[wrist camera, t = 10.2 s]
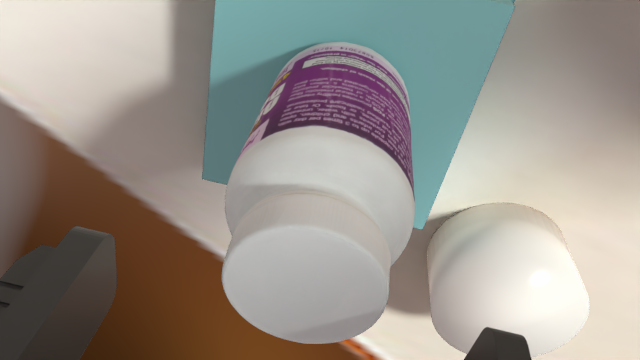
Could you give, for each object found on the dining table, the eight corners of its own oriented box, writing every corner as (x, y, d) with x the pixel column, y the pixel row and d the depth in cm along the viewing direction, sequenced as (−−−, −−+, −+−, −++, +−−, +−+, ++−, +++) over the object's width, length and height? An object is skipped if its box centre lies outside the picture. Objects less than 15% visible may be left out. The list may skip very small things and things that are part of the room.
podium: (228, -99, 19) (203, -88, 16) (521, -29, 19) (540, -8, 17) (208, 151, 25) (188, 186, 23) (427, 202, 26) (431, 242, 23)
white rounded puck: (452, 187, 25) (461, 241, 22) (590, 219, 25) (620, 278, 22) (410, 284, 29) (412, 342, 26) (529, 311, 29) (547, 373, 26)
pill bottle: (264, 36, 19) (168, 192, 11) (413, 37, 18) (429, 202, 10) (277, 162, 22) (210, 355, 14) (405, 166, 21) (411, 371, 13)
